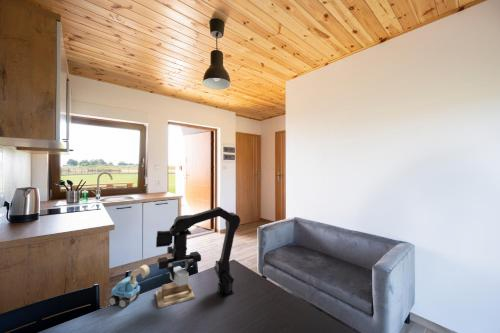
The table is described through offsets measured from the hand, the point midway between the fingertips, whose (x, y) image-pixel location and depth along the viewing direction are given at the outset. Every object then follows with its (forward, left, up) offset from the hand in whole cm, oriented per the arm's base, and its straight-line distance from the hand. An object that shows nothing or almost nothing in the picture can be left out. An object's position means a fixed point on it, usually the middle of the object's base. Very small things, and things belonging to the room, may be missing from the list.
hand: (179, 278), depth 99 cm
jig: (+1, -6, -11) cm, 12 cm away
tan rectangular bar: (+1, -6, -10) cm, 12 cm away
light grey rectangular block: (0, 0, -1) cm, 1 cm away
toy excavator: (+20, -10, -11) cm, 25 cm away
